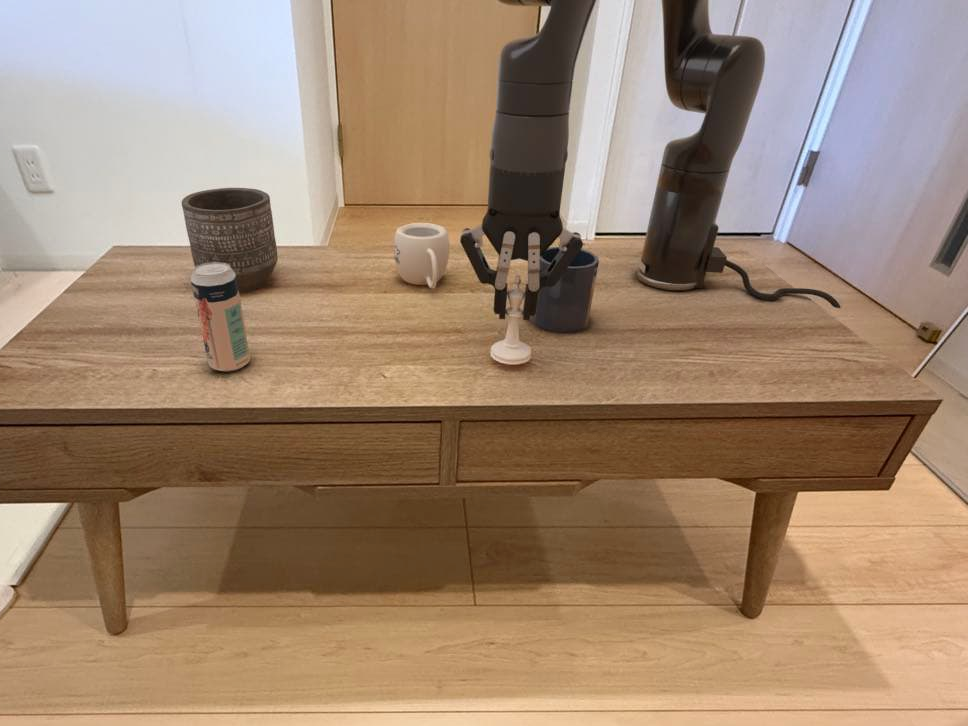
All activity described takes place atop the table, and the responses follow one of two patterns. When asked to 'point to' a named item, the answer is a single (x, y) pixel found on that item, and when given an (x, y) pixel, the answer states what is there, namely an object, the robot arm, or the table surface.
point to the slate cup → (567, 293)
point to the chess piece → (512, 332)
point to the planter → (233, 233)
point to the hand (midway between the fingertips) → (513, 316)
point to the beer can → (220, 316)
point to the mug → (421, 253)
